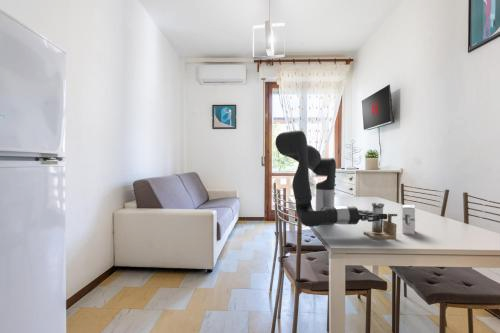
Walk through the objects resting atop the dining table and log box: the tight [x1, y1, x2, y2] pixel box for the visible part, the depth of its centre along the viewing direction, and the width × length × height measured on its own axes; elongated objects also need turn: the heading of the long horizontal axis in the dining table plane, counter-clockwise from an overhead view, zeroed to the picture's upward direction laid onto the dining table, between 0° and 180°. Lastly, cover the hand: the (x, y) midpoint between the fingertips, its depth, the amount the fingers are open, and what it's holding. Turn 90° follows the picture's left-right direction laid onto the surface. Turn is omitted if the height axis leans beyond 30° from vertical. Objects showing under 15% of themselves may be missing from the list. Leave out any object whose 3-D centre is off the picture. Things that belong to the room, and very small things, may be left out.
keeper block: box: [363, 213, 398, 240], centre depth 121 cm, size 8×12×10 cm, turn 94°
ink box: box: [401, 204, 416, 236], centre depth 129 cm, size 9×5×12 cm, turn 149°
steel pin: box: [371, 202, 385, 233], centre depth 121 cm, size 5×5×12 cm
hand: (383, 215), depth 121 cm, fingers closed on steel pin, 4 cm apart
